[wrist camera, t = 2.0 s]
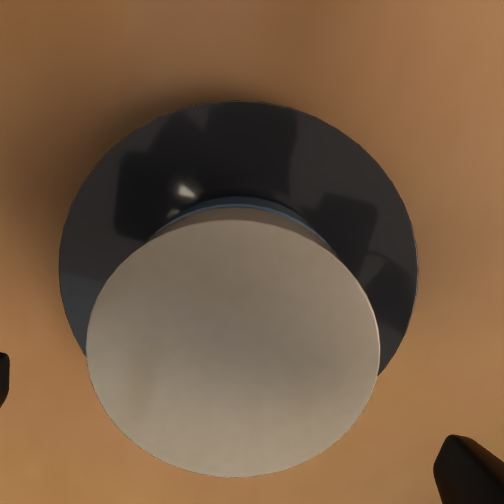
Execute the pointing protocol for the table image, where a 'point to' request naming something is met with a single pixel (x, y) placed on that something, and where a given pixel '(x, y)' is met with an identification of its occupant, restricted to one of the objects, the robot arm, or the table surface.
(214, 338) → the cream saucer
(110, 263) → the charcoal plate
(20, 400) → the table surface
